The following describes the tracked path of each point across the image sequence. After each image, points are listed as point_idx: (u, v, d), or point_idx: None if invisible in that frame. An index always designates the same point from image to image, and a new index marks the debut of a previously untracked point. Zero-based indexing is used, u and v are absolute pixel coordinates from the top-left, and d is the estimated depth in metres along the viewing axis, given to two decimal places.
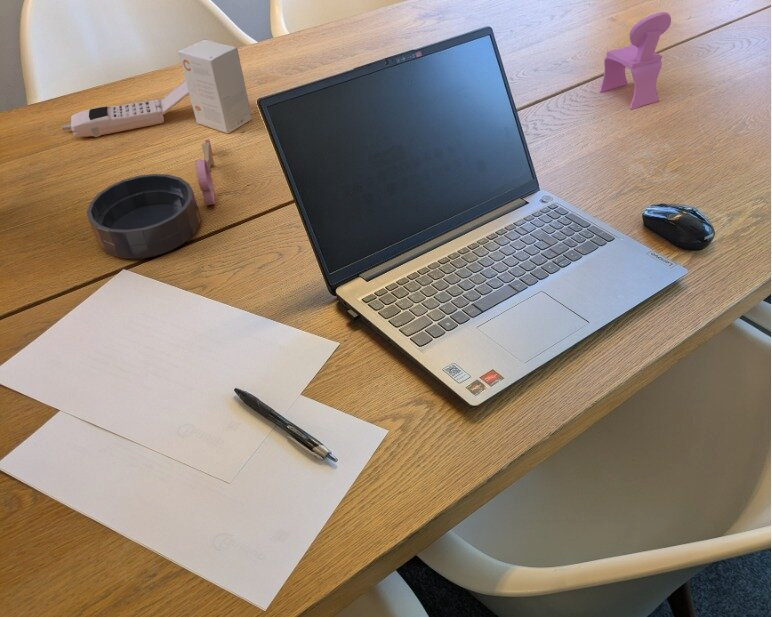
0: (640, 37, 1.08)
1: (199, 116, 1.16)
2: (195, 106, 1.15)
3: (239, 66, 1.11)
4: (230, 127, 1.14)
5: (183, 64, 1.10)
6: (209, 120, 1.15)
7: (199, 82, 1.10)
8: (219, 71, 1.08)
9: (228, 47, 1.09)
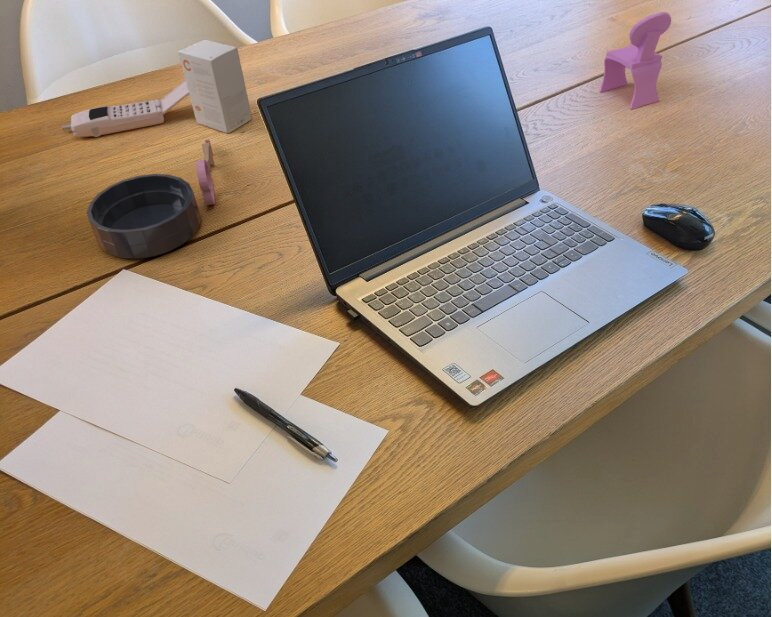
0: (640, 37, 1.08)
1: (199, 116, 1.16)
2: (195, 106, 1.15)
3: (239, 66, 1.11)
4: (230, 127, 1.14)
5: (183, 64, 1.10)
6: (209, 120, 1.15)
7: (199, 82, 1.10)
8: (219, 71, 1.08)
9: (228, 47, 1.09)
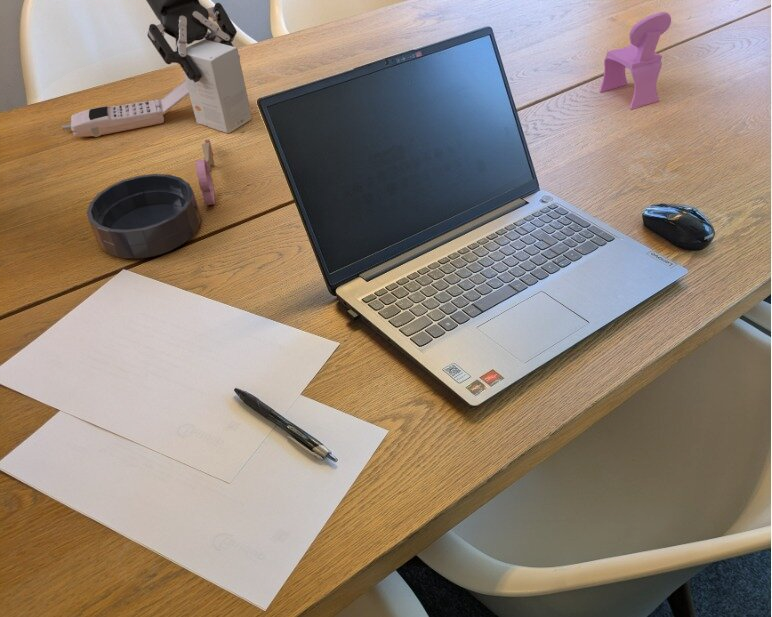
0: (640, 37, 1.08)
1: (199, 116, 1.16)
2: (195, 106, 1.15)
3: (239, 66, 1.11)
4: (230, 127, 1.14)
5: None
6: (209, 120, 1.15)
7: (199, 82, 1.10)
8: (219, 72, 1.08)
9: (228, 47, 1.09)
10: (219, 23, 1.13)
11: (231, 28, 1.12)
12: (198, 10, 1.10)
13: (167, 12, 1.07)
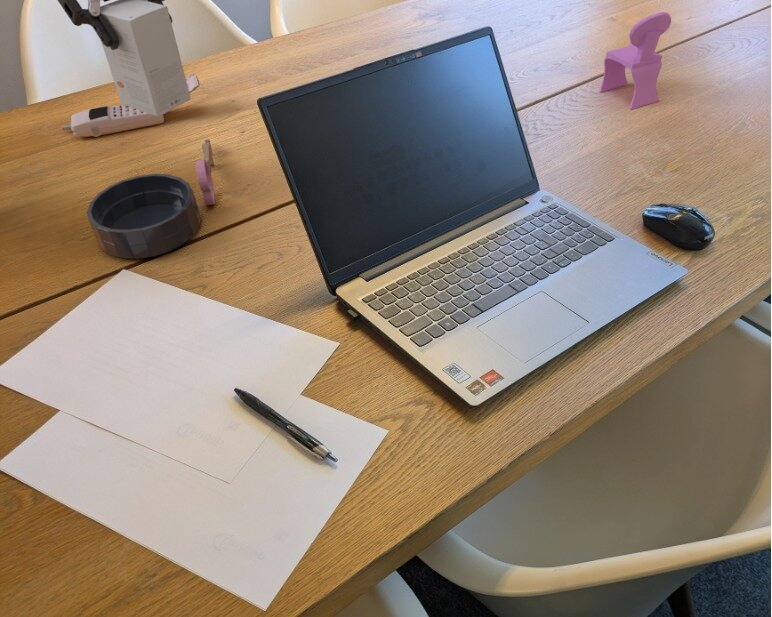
0: (640, 37, 1.08)
1: (123, 95, 0.92)
2: (117, 82, 0.91)
3: (170, 30, 0.87)
4: (161, 109, 0.90)
5: None
6: (135, 100, 0.91)
7: (118, 49, 0.87)
8: (143, 36, 0.84)
9: (155, 5, 0.86)
10: None
11: None
12: None
13: None
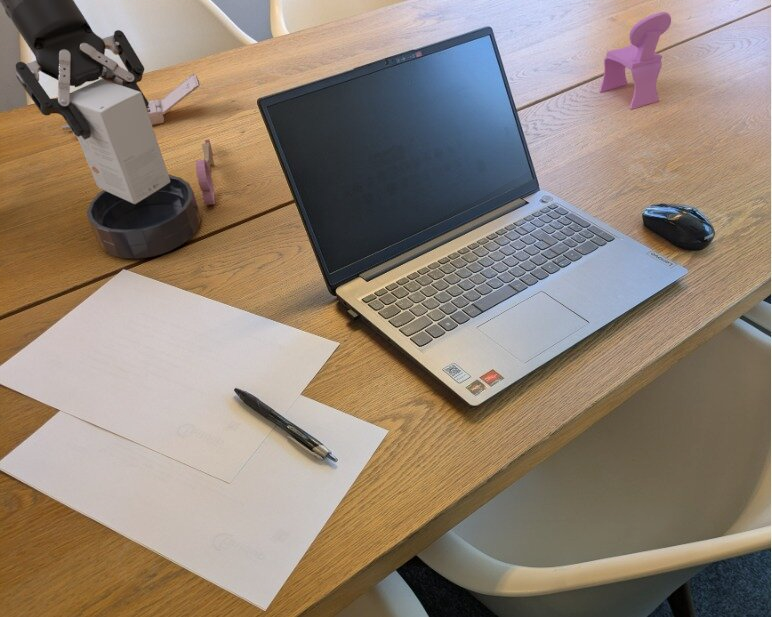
0: (640, 37, 1.08)
1: (98, 179, 0.87)
2: (92, 167, 0.86)
3: (146, 116, 0.82)
4: (138, 196, 0.85)
5: None
6: (111, 186, 0.86)
7: (91, 138, 0.82)
8: (115, 126, 0.79)
9: (129, 91, 0.80)
10: (122, 57, 0.84)
11: (137, 65, 0.83)
12: (89, 41, 0.81)
13: (43, 45, 0.79)
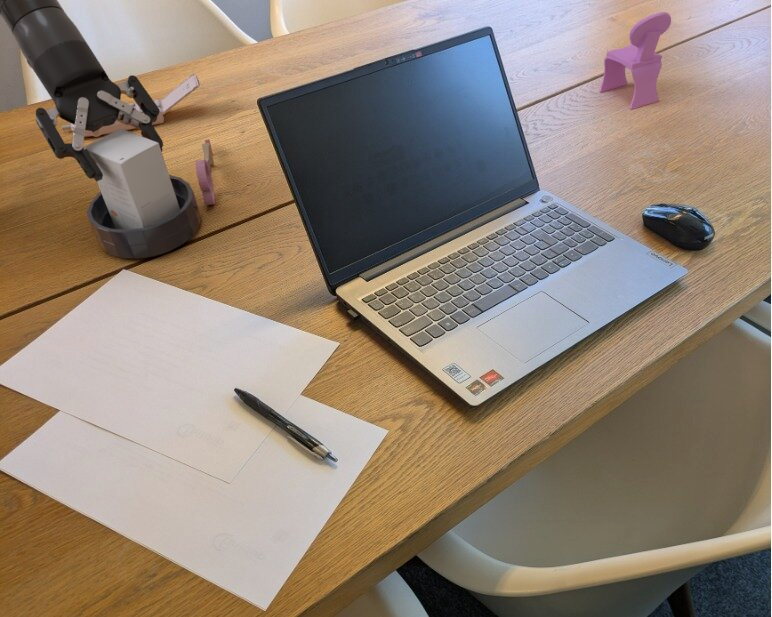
0: (640, 37, 1.08)
1: (117, 222, 0.92)
2: (111, 210, 0.91)
3: (163, 165, 0.87)
4: None
5: None
6: (128, 229, 0.91)
7: (111, 185, 0.86)
8: (134, 175, 0.84)
9: (147, 142, 0.85)
10: (136, 100, 0.89)
11: (152, 107, 0.88)
12: (106, 89, 0.85)
13: (63, 93, 0.83)
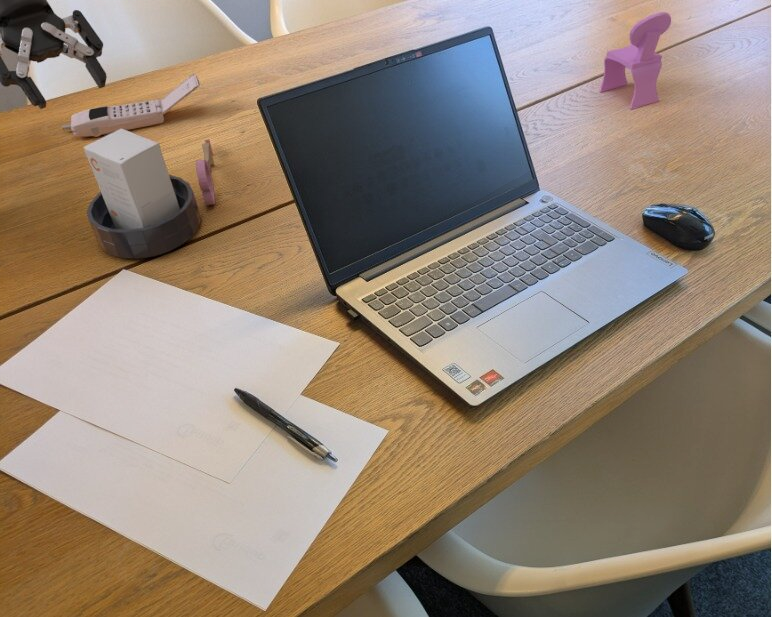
0: (640, 37, 1.08)
1: (117, 222, 0.92)
2: (111, 210, 0.91)
3: (163, 165, 0.87)
4: None
5: (91, 162, 0.86)
6: (128, 229, 0.91)
7: (111, 185, 0.86)
8: (134, 175, 0.84)
9: (147, 142, 0.85)
10: (81, 35, 0.93)
11: (96, 41, 0.92)
12: (51, 21, 0.89)
13: (8, 23, 0.87)
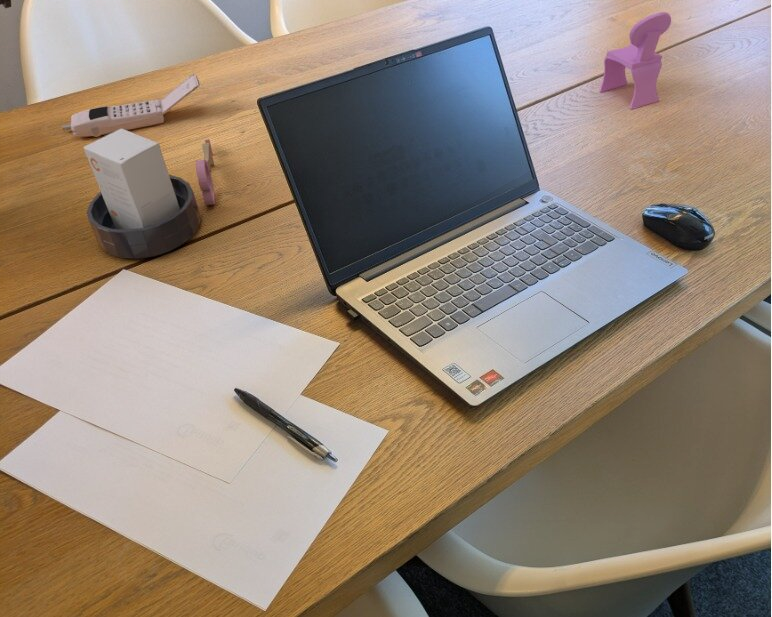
0: (640, 37, 1.08)
1: (117, 222, 0.92)
2: (111, 210, 0.91)
3: (163, 165, 0.87)
4: None
5: (91, 162, 0.86)
6: (128, 229, 0.91)
7: (111, 185, 0.86)
8: (134, 175, 0.84)
9: (147, 142, 0.85)
10: None
11: None
12: None
13: None
